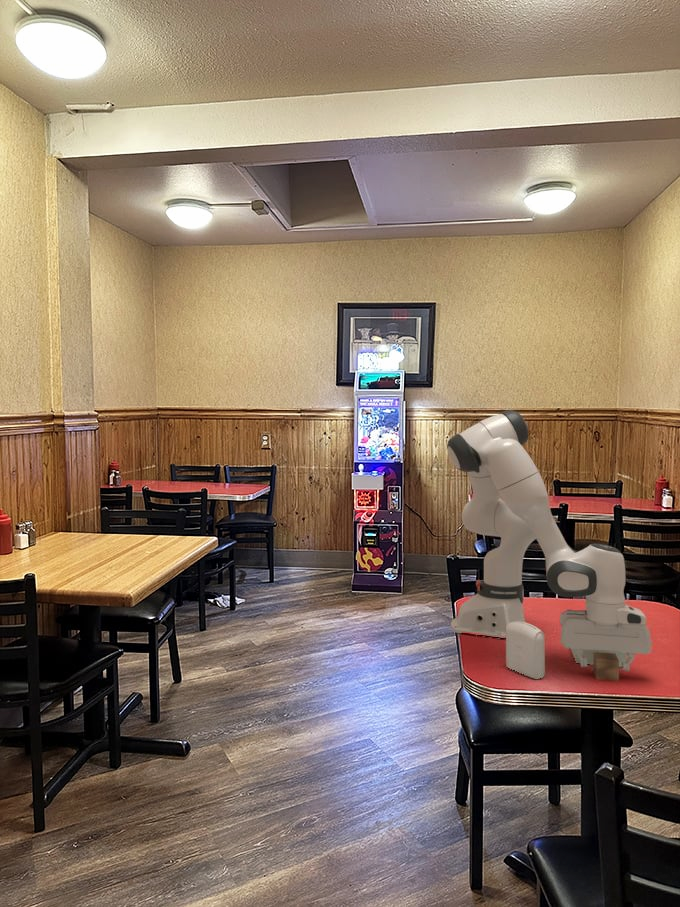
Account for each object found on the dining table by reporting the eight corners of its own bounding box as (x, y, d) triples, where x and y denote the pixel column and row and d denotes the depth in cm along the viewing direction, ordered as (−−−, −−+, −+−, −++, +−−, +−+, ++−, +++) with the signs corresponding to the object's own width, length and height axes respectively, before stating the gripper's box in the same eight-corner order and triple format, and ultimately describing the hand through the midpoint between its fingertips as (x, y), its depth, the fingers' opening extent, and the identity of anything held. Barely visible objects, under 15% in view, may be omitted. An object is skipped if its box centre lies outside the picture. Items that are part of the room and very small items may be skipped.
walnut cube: (596, 679, 152) (596, 658, 152) (593, 671, 157) (593, 651, 157) (618, 681, 151) (619, 660, 151) (615, 673, 156) (615, 653, 156)
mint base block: (576, 663, 162) (576, 648, 162) (570, 648, 174) (570, 633, 174) (626, 667, 159) (626, 651, 159) (617, 651, 171) (617, 636, 171)
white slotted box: (503, 668, 160) (503, 619, 159) (515, 664, 162) (515, 616, 162) (535, 681, 151) (535, 630, 151) (547, 677, 153) (547, 627, 153)
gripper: (561, 612, 153) (560, 669, 153) (653, 618, 148) (652, 676, 148) (558, 605, 159) (558, 660, 159) (647, 610, 154) (646, 667, 154)
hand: (604, 668), depth 154 cm, fingers open, 8 cm apart
